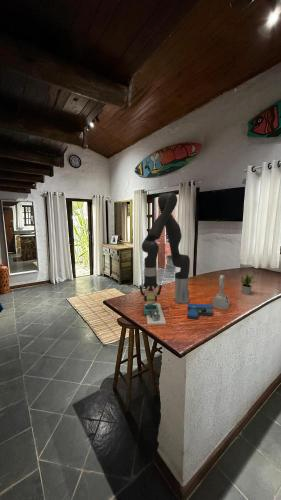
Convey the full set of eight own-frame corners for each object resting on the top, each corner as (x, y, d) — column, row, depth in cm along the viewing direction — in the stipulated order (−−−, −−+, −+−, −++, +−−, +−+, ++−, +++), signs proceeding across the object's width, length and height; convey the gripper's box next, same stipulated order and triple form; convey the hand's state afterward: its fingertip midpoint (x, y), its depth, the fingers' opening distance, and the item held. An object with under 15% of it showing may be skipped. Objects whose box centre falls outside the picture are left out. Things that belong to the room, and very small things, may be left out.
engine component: (211, 307, 136) (227, 310, 131) (211, 276, 134) (228, 278, 129) (215, 301, 146) (230, 304, 140) (215, 272, 143) (231, 274, 138)
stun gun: (216, 316, 117) (211, 303, 132) (187, 314, 120) (186, 302, 134) (215, 322, 118) (211, 309, 133) (187, 321, 121) (186, 308, 135)
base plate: (159, 304, 143) (159, 303, 143) (165, 324, 115) (165, 322, 115) (144, 304, 143) (144, 303, 143) (147, 324, 115) (147, 323, 115)
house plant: (262, 297, 152) (263, 275, 150) (243, 297, 152) (244, 275, 150) (252, 290, 166) (253, 270, 164) (234, 291, 166) (235, 271, 164)
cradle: (157, 309, 133) (157, 304, 133) (158, 314, 125) (158, 310, 124) (143, 309, 133) (143, 305, 133) (144, 315, 125) (144, 310, 124)
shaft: (148, 315, 124) (148, 309, 123) (154, 314, 125) (154, 308, 125) (154, 321, 116) (154, 314, 116) (160, 320, 118) (160, 313, 117)
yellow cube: (155, 303, 126) (155, 295, 125) (146, 304, 126) (146, 296, 125) (154, 300, 131) (154, 292, 130) (146, 300, 131) (146, 292, 130)
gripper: (138, 276, 122) (139, 304, 124) (163, 275, 122) (163, 303, 124) (138, 273, 129) (138, 299, 132) (161, 272, 130) (161, 299, 132)
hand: (150, 301), depth 128 cm, fingers closed on yellow cube, 5 cm apart
